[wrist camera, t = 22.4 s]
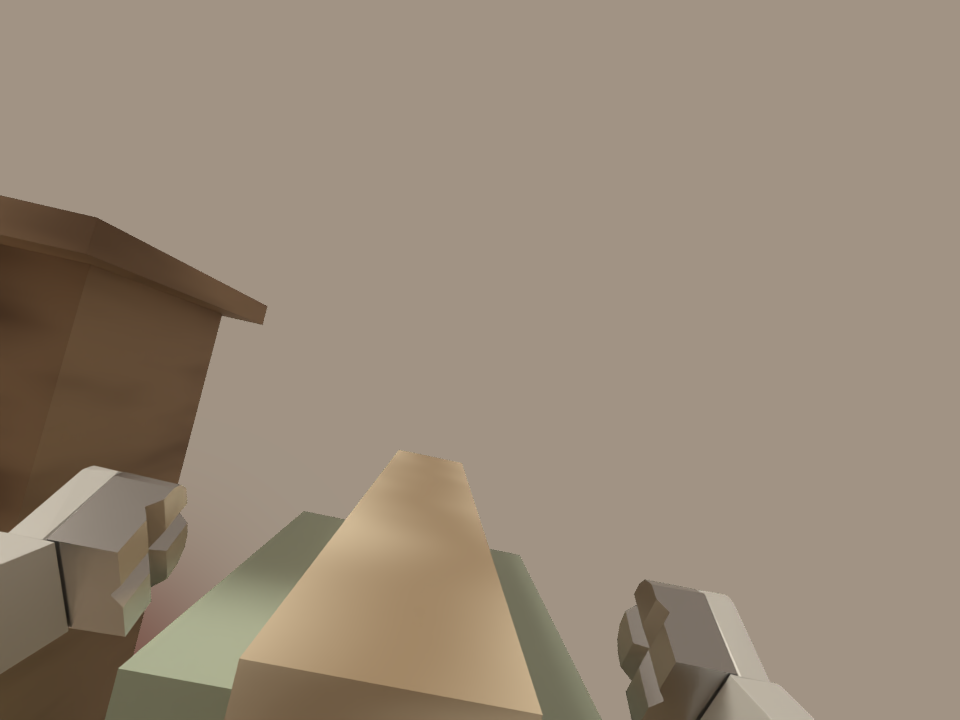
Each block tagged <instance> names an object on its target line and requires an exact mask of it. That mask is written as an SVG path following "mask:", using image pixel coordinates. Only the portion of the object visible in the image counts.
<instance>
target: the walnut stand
mask: <svg viewBox="0 0 960 720" xmlns="http://www.w3.org/2000/svg"><path fill="white" fill-rule="evenodd" d="M266 309H267V306H266V305H264V304H262V303H260V302H258V301H256V300H254V299H252V298H250V297H248V296H247V295H244V294H243V293H241V292H239V291H237V290H235V289H233V288H231V287H229V286H227V285H225V284H223V283H222V282H220V281H217V280H216V279H214V278H212V277H210V276H208V275H206V274H204V273H202V272H200V271H198V270H196V269H195V268H193V267H191V266H189V265H187V264H185V263H183V262H181V261H179V260H177V259H175V258H173V257H172V256H170V255H168V254H166V253H164V252H162V251H160V250H158V249H156V248H154V247H152V246H150V245H149V244H147V243H145V242H143V241H141V240H139V239H137V238H135V237H133V236H131V235H129V234H127V233H125V232H124V231H122V230H120V229H118V228H116V227H114V226H112V225H110V224H108V223H106V222H104V221H102V220H100V219H99V218H96V217H92V216H87V215H83V214H78V213H75V212H70V211H66V210H61V209H57V208H53V207H48V206H44V205H40V204H35V203H31V202H27V201H22V200H18V199H14V198H9V197H5V196H0V532H6V533H8V532H10V531H11V530H12V529H13V528H14V527H16V526H17V525H18V524H19V523H20V522H21V521H23V520H24V519H25V518H26V517H27V516H28V515H30V514H31V513H32V512H33V511H34V510H35V509H37V508H38V507H39V506H40V505H41V504H42V503H44V502H45V501H46V500H47V499H48V498H50V497H51V496H52V495H53V494H54V493H55V492H57V491H58V490H59V489H60V488H61V487H62V486H64V485H65V484H66V483H67V482H68V481H69V480H71V479H72V478H73V477H74V476H75V475H76V474H78V473H79V472H80V471H81V470H83V469H85V468H88V467H91V466H98V467H103V468H107V469H111V470H115V471H120V472H127V473H131V474H136V475H140V476H144V477H149V478H153V479H157V480H162V481H166V482H171V483H175V484H178V481H179V477H180V473H181V469H182V466H183V462H184V458H185V454H186V450H187V447H188V443H189V439H190V435H191V431H192V427H193V424H194V420H195V416H196V412H197V408H198V404H199V401H200V397H201V393H202V389H203V385H204V381H205V377H206V374H207V369H208V366H209V362H210V358H211V355H212V351H213V347H214V343H215V339H216V335H217V332H218V328H219V324H220V320H221V316H226V317H231V318H235V319H240V320H244V321H248V322H253V323H257V324H263V321H264V317H265V313H266ZM144 611H145V610H144ZM143 615H144V612H143V613H142V614H141V616H140V617H139V619H138V620H137V621H136V623H135V624H134V625H133V627H132V628H131V630H130V631H129V632H128V634H127V635H126V637H123V636H117V635H111V634H104V633H98V632H91V631H85V630H79V629H72V628H68V632H66V633H65V634H63V635H62V636H60V637H59V638H57V639H55V640H54V641H52V642H51V643H49V644H47V645H46V646H44V647H43V648H41V649H39V650H38V651H36V652H35V653H33V654H32V655H30V656H28V657H27V658H25V659H24V660H22V661H20V662H19V663H17V664H16V665H14V666H12V667H11V668H9V669H8V670H6V671H5V672H3V673H1V674H0V720H105V717H106V713H107V709H108V705H109V702H110V698H111V694H112V690H113V686H114V683H115V679H116V675H117V671H118V668H119V667H120V666H122V665H123V664H124V663H125V662H126V661H128V660H129V659H130V658H131V657H132V656H133V653H134V649H135V646H136V642H137V638H138V634H139V630H140V626H141V623H142V619H143Z"/></svg>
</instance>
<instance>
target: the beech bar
mask: <svg viewBox="0 0 960 720" xmlns="http://www.w3.org/2000/svg"><path fill="white" fill-rule="evenodd" d="M542 716H543V714H542V711H541V708H540V705H539V702H538V699H537V696H536V692H535V689H534V686H533V683H532V680H531V677H530V674H529V671H528V668H527V664H526V661H525V658H524V655H523V652H522V649H521V646H520V643H519V640H518V636H517V633H516V630H515V627H514V624H513V621H512V618H511V615H510V612H509V608H508V605H507V602H506V599H505V596H504V593H503V590H502V587H501V584H500V580H499V577H498V574H497V571H496V568H495V565H494V562H493V559H492V556H491V552H490V549H489V546H488V543H487V540H486V537H485V534H484V531H483V528H482V525H481V522H480V518H479V515H478V512H477V509H476V506H475V503H474V500H473V497H472V493H471V490H470V487H469V484H468V481H467V478H466V475H465V472H464V468H463V465H462V463H459V462H454V461H449V460H444V459H440V458H435V457H430V456H426V455H421V454H416V453H411V452H407V451H402V450H399V451H398V452H397V453H396V454H395V456H394V457H393V458H392V460H391V461H390V462H389V464H388V465H387V466H386V468H385V469H384V470H383V471H382V473H381V474H380V475H379V477H378V478H377V479H376V481H375V482H374V483H373V485H372V486H371V487H370V488H369V490H368V491H367V493H366V494H365V495H364V496H363V498H362V499H361V500H360V501H359V503H358V504H357V505H356V507H355V508H354V510H353V511H352V512H351V513H350V515H349V516H348V517H347V518H346V520H345V521H344V522H343V524H342V525H341V526H340V528H339V529H338V530H337V531H336V533H335V534H334V535H333V537H332V538H331V539H330V541H329V542H328V543H327V545H326V546H325V547H324V548H323V550H322V551H321V552H320V554H319V555H318V556H317V558H316V559H315V560H314V561H313V563H312V564H311V565H310V567H309V568H308V569H307V571H306V572H305V573H304V575H303V576H302V577H301V578H300V580H299V581H298V582H297V584H296V585H295V586H294V588H293V589H292V590H291V592H290V593H289V594H288V595H287V597H286V598H285V599H284V601H283V602H282V603H281V605H280V606H279V607H278V608H277V610H276V611H275V612H274V614H273V615H272V616H271V618H270V619H269V620H268V622H267V623H266V624H265V625H264V627H263V628H262V629H261V631H260V632H259V633H258V635H257V636H256V637H255V638H254V640H253V641H252V642H251V644H250V645H249V646H248V648H247V649H246V650H245V652H244V653H243V654H242V655H241V657H240V658H239V661H238V665H237V670H236V674H235V678H234V682H233V686H232V690H231V694H230V698H229V702H228V706H227V710H226V714H225V718H224V720H542Z"/></svg>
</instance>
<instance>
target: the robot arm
mask: <svg viewBox="0 0 960 720" xmlns="http://www.w3.org/2000/svg"><path fill="white" fill-rule="evenodd" d="M186 504H187V494H186V488H185V487H183V486H182V485H179V484H175V483H171V482H166V481H162V480H157V479H153V478H149V477H144V476H140V475H136V474H131V473H127V472H120V471H115V470H111V469H107V468H103V467H98V466H91V467H88V468H85V469H83V470H81V471H80V472H79V473H78V474H76V475H75V476H74V477H73V478H72V479H71V480H69V481H68V482H67V483H66V484H65V485H64V486H62V487H61V488H60V489H59V490H58V491H57V492H55V493H54V494H53V495H52V496H51V497H50V498H48V499H47V500H46V501H45V502H44V503H42V504H41V505H40V506H39V507H38V508H37V509H35V510H34V511H33V512H32V513H31V514H30V515H28V516H27V517H26V518H25V519H24V520H23V521H21V522H20V523H19V524H18V525H17V526H16V527H14V528H13V529H12V530H11V531H10V532H8V533H6V532H0V674H1V673H3V672H5V671H6V670H8V669H9V668H11V667H12V666H14V665H16V664H17V663H19V662H20V661H22V660H24V659H25V658H27V657H28V656H30V655H32V654H33V653H35V652H36V651H38V650H39V649H41V648H43V647H44V646H46V645H47V644H49V643H51V642H52V641H54V640H55V639H57V638H59V637H60V636H62V635H63V634H65V633H66V632H68V628H72V629H79V630H85V631H91V632H98V633H104V634H111V635H117V636H123V637H126V635H127V634H128V632H129V631H130V630H131V628H132V627H133V625H134V624H135V623H136V621H137V620H138V619H139V617H140V616H141V614H142V613H143V612H144V610H145V609H146V607H147V606H148V605H149V603H150V602H151V587H152V586H154V585H155V584H158V583H160V582H162V581H164V580H165V579H167V578H168V577H169V575H170V574H171V572H172V571H173V569H174V568H175V566H176V565H177V563H178V561H179V559H180V556H181V554H182V552H183V550H184V547H185V543H186V538H187V522H186V521H185V519H184V518H183V517H182V515H181V514H180V512H181V510H182V509H183V508H184V507H185V505H186ZM634 595H635V599H636V603H637V605H635V606H634V607H632V608H630V609H628V610H627V611H625V614H624V616H623V618H622V620H621V623H620V626H619V633H618V639H617V640H618V655H619V661H620V666H621V668H622V669H623V670H624V672H625V673H626V674H627V675H628V677H629V678H630V679H631V680H632V681H631V683H630V685H629V687H628V689H627V691H626V695H627V700H628V704H629V709H630V714H631V719H632V720H815V719H814V718H813V717H811V715H810V714H809V713H808V712H807V711H806V710H805V709H803V708H802V706H801V705H799V703H797V702H796V700H794V699H793V698H792V697H791V696H790V695H789V694H788V693H787V692H786V691H785V690H784V689H783V688H782V687H781V686H780V685H779V684H776V683H771V682H770V681H769V678H768V676H767V674H766V672H765V670H764V668H763V666H762V664H761V661H760V659H759V657H758V655H757V653H756V651H755V648H754V646H753V644H752V642H751V640H750V638H749V635H748V633H747V631H746V629H745V627H744V625H743V623H742V621H741V618H740V616H739V614H738V612H737V610H736V608H735V605H734V603H733V601H732V600H731V599H730V598H729V597H728V596H727V595H723V594H718V593H713V592H707V591H702V590H695V589H691V588H686V587H681V586H676V585H670V584H665V583H661V582H655V581H650V580H644V581H642V582H641V583H640V584H639V586H638V588H637V589H636V591H635V594H634Z"/></svg>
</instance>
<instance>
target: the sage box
mask: <svg viewBox="0 0 960 720" xmlns="http://www.w3.org/2000/svg"><path fill="white" fill-rule="evenodd" d="M344 521H345V520H344V519H340V518H335V517H330V516H325V515H320V514H315V513H310V512H305V511H304V512H302V513H301V514H300V515H299V516H298V517H297V518H295V519H294V520H293V521H292V522H291V523H290V524H289V525H287V526H286V527H285V528H284V529H282V530H281V531H280V532H279V533H278V534H276V535H275V536H274V537H273V538H272V539H271V540H269V541H268V542H267V543H266V544H265V545H263V546H262V547H261V548H260V549H259V550H258V551H256V552H255V553H254V554H253V555H252V556H250V558H248V559H247V560H246V561H245V562H244V563H242V564H241V565H240V566H239V567H238V568H236V569H235V570H234V571H233V572H232V573H230V574H229V575H228V576H227V577H226V578H225V579H223V580H222V581H221V582H220V583H219V584H217V585H216V586H215V587H214V588H213V589H211V590H210V591H209V592H208V593H207V594H206V595H204V596H203V597H202V598H201V599H200V600H198V601H197V602H196V603H195V604H194V605H193V606H191V607H190V608H189V609H188V610H187V611H185V612H184V613H183V614H182V615H181V616H180V617H178V619H176V620H175V621H174V622H172V623H171V624H170V625H169V626H168V627H167V628H166V629H164V630H163V631H162V632H161V633H159V635H157V636H156V637H155V638H154V639H153V640H151V641H150V642H149V643H148V644H147V645H145V646H144V647H143V648H142V649H141V650H139V651H138V652H137V653H136V654H135V655H133V656H132V657H131V658H130V659H129V660H128V661H126V662H125V663H124V664H123V665H122V666H120V667H119V668H118V671H117V675H116V679H115V683H114V686H113V690H112V694H111V698H110V702H109V705H108V709H107V713H106V717H105V720H224V718H225V714H226V710H227V706H228V702H229V698H230V694H231V690H232V686H233V682H234V678H235V674H236V670H237V665H238V661H239V658H240V657H241V655H242V654H243V653H244V652H245V650H246V649H247V648H248V646H249V645H250V644H251V642H252V641H253V640H254V638H255V637H256V636H257V635H258V633H259V632H260V631H261V629H262V628H263V627H264V625H265V624H266V623H267V622H268V620H269V619H270V618H271V616H272V615H273V614H274V612H275V611H276V610H277V608H278V607H279V606H280V605H281V603H282V602H283V601H284V599H285V598H286V597H287V595H288V594H289V593H290V592H291V590H292V589H293V588H294V586H295V585H296V584H297V582H298V581H299V580H300V578H301V577H302V576H303V575H304V573H305V572H306V571H307V569H308V568H309V567H310V565H311V564H312V563H313V561H314V560H315V559H316V558H317V556H318V555H319V554H320V552H321V551H322V550H323V548H324V547H325V546H326V545H327V543H328V542H329V541H330V539H331V538H332V537H333V535H334V534H335V533H336V531H337V530H338V529H339V528H340V526H341V525H342V524H343V522H344ZM490 552H491V556H492V559H493V562H494V565H495V568H496V571H497V574H498V577H499V580H500V584H501V587H502V590H503V593H504V596H505V599H506V602H507V605H508V608H509V612H510V615H511V618H512V621H513V624H514V627H515V630H516V633H517V636H518V640H519V643H520V646H521V649H522V652H523V655H524V658H525V661H526V664H527V668H528V671H529V674H530V677H531V680H532V683H533V686H534V689H535V692H536V696H537V699H538V702H539V705H540V708H541V711H542V714H543V716H542V720H602V719H601V717H600V715H599V713H598V711H597V709H596V707H595V705H594V703H593V701H592V699H591V697H590V695H589V693H588V691H587V689H586V687H585V685H584V683H583V681H582V679H581V677H580V675H579V673H578V671H577V669H576V667H575V665H574V663H573V661H572V659H571V657H570V655H569V653H568V651H567V649H566V647H565V645H564V643H563V641H562V639H561V637H560V635H559V633H558V631H557V629H556V627H555V625H554V623H553V621H552V619H551V617H550V615H549V613H548V611H547V609H546V607H545V605H544V603H543V601H542V599H541V597H540V595H539V593H538V591H537V589H536V587H535V585H534V583H533V581H532V579H531V577H530V575H529V573H528V571H527V569H526V567H525V565H524V563H523V561H522V559H521V557H520V555H516V554H512V553H507V552H502V551H497V550H492V549H490Z"/></svg>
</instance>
